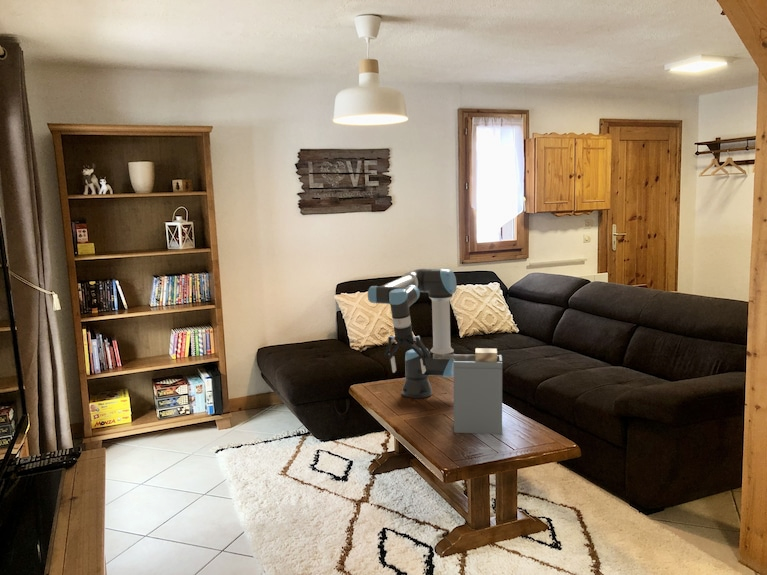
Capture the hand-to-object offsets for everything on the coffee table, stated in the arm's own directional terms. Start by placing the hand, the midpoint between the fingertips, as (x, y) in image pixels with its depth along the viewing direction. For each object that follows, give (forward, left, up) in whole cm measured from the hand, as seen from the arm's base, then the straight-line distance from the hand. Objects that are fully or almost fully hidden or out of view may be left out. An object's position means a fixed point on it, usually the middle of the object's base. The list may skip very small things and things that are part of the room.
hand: (409, 371), depth 265 cm
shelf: (-10, +28, -25) cm, 38 cm away
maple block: (-8, +22, +3) cm, 24 cm away
